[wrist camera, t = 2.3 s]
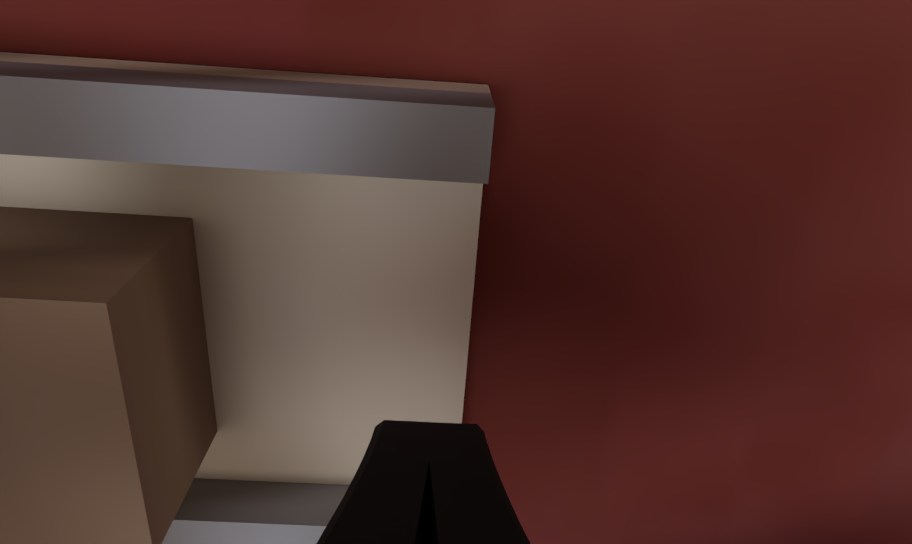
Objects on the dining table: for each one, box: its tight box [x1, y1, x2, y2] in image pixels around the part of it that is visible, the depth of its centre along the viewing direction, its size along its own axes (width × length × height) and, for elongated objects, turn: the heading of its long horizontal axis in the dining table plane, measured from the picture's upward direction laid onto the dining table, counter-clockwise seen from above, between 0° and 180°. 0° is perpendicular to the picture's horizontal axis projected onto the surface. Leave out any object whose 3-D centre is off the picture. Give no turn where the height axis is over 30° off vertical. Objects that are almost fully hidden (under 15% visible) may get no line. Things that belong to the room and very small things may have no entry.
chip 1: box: [0, 206, 217, 544], centre depth 10 cm, size 4×4×3 cm
